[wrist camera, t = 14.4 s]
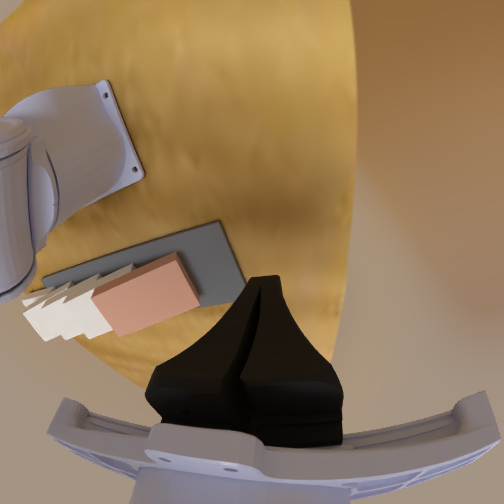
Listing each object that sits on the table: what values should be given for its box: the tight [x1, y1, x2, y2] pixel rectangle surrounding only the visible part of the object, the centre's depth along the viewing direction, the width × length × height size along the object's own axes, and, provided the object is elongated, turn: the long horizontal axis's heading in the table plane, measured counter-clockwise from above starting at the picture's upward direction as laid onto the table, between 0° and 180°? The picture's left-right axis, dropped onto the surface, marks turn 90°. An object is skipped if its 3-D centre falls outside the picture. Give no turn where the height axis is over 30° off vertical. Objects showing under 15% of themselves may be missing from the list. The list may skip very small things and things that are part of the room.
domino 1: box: [22, 286, 56, 308], centre depth 30 cm, size 5×2×9 cm
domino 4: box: [62, 263, 136, 339], centre depth 25 cm, size 5×2×9 cm
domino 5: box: [91, 252, 200, 337], centre depth 24 cm, size 5×2×9 cm
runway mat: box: [41, 220, 246, 309], centre depth 27 cm, size 8×27×1 cm, turn 108°
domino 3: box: [41, 273, 103, 340], centre depth 27 cm, size 5×2×9 cm
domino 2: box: [23, 281, 75, 342], centre depth 28 cm, size 5×2×9 cm
